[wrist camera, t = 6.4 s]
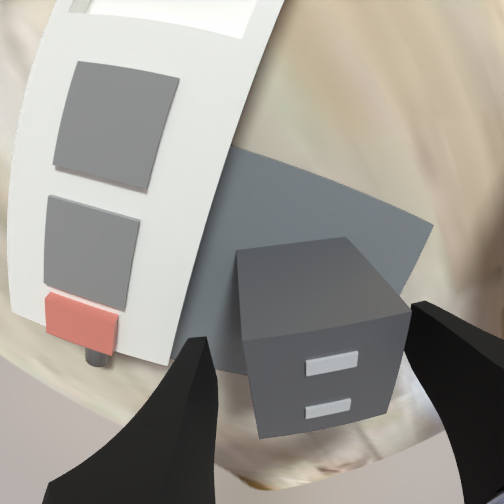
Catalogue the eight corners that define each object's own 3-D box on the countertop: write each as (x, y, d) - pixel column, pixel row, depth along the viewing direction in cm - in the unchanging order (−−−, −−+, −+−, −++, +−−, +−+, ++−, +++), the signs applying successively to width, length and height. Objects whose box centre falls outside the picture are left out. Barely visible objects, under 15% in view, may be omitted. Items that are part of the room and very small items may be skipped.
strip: (187, -131, 5) (181, -170, 2) (330, -103, 6) (353, -141, 3) (44, 326, 14) (15, 368, 10) (166, 366, 15) (156, 418, 12)
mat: (428, 222, 13) (433, 225, 12) (339, 383, 16) (341, 388, 16) (215, 141, 11) (214, 141, 11) (159, 349, 14) (158, 355, 14)
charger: (345, 236, 12) (413, 313, 7) (342, 324, 14) (387, 415, 9) (236, 250, 12) (242, 343, 7) (249, 338, 14) (259, 441, 9)
